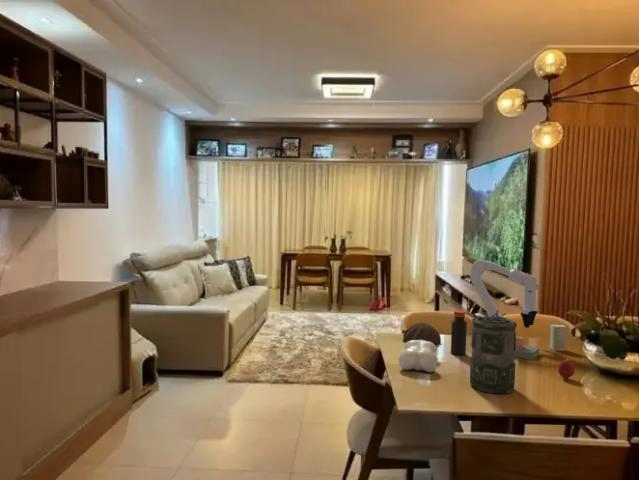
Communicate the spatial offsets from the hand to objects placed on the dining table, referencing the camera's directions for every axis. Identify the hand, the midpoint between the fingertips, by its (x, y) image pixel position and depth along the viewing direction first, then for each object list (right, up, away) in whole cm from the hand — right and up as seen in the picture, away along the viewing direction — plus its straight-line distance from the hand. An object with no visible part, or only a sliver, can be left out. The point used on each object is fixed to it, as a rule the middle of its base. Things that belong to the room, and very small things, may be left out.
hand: (528, 326), depth 243 cm
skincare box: (+12, -11, -4) cm, 17 cm away
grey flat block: (-11, -11, -14) cm, 21 cm away
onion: (-7, -13, -50) cm, 52 cm away
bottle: (-40, -10, -16) cm, 44 cm away
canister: (-41, -12, -62) cm, 75 cm away
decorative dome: (-53, -9, +6) cm, 54 cm away
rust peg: (-11, -11, -14) cm, 21 cm away
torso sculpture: (-62, -11, -33) cm, 71 cm away
